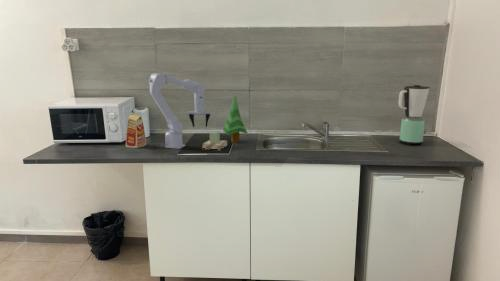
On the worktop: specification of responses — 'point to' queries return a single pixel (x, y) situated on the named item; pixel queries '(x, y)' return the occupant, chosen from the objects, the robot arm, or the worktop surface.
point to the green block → (214, 137)
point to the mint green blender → (413, 114)
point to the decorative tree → (234, 123)
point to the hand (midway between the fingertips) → (200, 126)
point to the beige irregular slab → (215, 145)
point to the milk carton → (135, 132)
